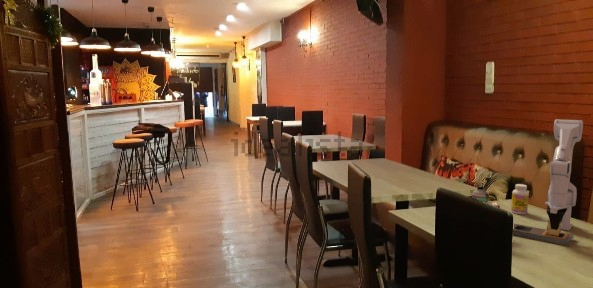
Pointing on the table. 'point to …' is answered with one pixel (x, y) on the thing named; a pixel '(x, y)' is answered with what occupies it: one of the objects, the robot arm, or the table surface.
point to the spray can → (480, 194)
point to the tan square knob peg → (552, 231)
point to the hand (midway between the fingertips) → (555, 227)
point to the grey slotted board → (542, 235)
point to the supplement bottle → (520, 199)
